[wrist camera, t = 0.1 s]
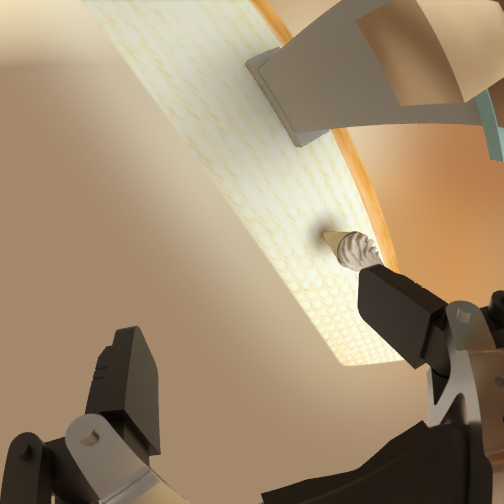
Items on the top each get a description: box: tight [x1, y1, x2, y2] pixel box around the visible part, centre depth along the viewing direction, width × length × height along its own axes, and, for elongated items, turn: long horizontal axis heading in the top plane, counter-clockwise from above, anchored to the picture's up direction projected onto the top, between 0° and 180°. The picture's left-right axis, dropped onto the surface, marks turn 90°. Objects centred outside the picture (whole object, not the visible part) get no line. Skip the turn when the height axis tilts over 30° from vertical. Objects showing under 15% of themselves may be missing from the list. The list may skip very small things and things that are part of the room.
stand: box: [245, 0, 504, 162], centre depth 20 cm, size 14×5×30 cm, turn 32°
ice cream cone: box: [322, 231, 384, 271], centre depth 36 cm, size 5×5×15 cm
